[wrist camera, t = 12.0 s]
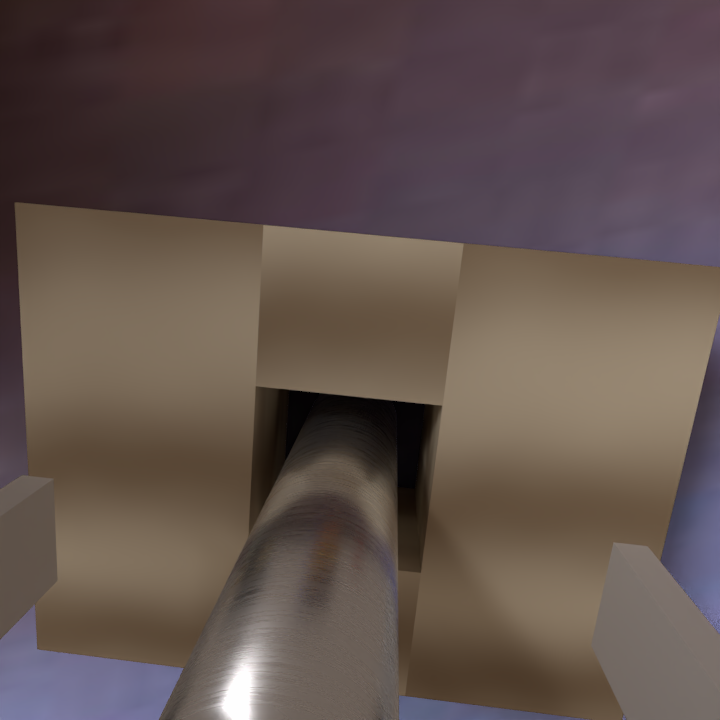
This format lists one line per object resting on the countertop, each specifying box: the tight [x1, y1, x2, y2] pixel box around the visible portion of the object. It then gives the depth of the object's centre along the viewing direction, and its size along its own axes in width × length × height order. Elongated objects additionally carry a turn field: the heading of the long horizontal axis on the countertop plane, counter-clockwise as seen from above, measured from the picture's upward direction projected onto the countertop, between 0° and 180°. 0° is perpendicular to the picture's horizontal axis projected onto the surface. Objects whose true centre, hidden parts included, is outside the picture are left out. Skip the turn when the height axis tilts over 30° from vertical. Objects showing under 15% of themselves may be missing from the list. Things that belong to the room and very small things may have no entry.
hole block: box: [15, 202, 720, 720], centre depth 20 cm, size 15×20×6 cm
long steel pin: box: [159, 393, 399, 720], centre depth 15 cm, size 4×4×16 cm
